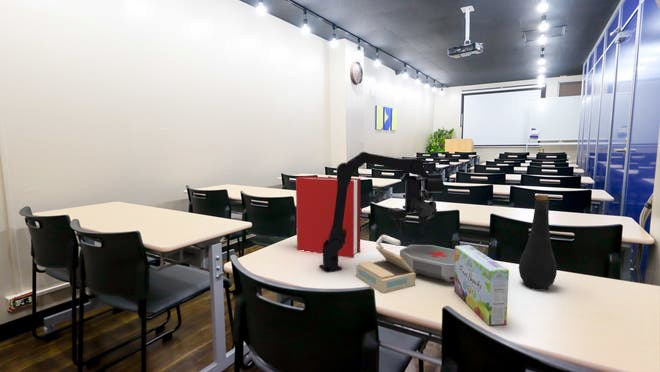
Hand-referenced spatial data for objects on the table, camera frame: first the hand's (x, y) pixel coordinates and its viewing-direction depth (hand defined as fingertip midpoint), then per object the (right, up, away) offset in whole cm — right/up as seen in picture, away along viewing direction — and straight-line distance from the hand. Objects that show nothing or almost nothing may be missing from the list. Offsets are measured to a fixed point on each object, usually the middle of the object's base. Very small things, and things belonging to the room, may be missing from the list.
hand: (412, 234), depth 128 cm
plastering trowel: (-10, -6, -10) cm, 15 cm away
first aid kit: (+8, -14, -4) cm, 17 cm away
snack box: (+12, -17, -29) cm, 36 cm away
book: (-32, -11, +23) cm, 40 cm away
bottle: (+37, -15, -15) cm, 43 cm away
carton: (-12, -14, -10) cm, 21 cm away
